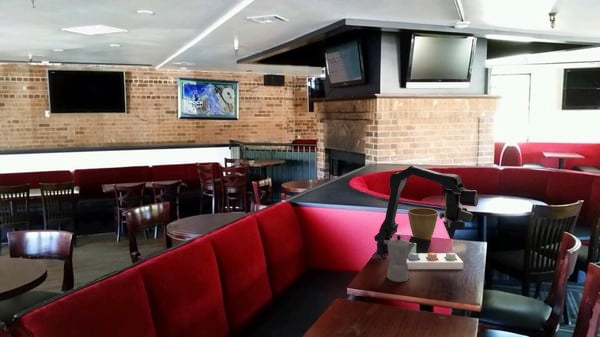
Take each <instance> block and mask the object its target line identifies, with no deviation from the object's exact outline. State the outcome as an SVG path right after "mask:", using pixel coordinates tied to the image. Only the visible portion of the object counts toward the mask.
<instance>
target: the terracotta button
mask: <svg viewBox="0 0 600 337" xmlns="http://www.w3.org/2000/svg"><path fill="white" fill-rule="evenodd" d="M428 260H437V254H436V252H428Z"/></svg>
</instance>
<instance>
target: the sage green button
mask: <svg viewBox="0 0 600 337" xmlns="http://www.w3.org/2000/svg"><path fill="white" fill-rule="evenodd" d="M456 255H457V253H456V254H454V252H447V253H446V260H455V259H456Z"/></svg>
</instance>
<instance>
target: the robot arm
mask: <svg viewBox="0 0 600 337" xmlns="http://www.w3.org/2000/svg"><path fill="white" fill-rule="evenodd" d="M413 176H415V177H419V178H421V179H426V180H429V181H430V182H431V181H432V182H435V183H438V184H439V185H440V186H442V188H443V189H442V190H441V191H440V194H445V199H444V200H445V202H444V205H443V208H444V211H441V212H439V219H440V220H443V219H444V220H443V221H442V223H443V226H444V228H445V230H446V232H447V233H446V234H447V235H448V237H449V239H450V240H453V239H454V236H455V234H456V230H457V229H466V223H465V221H463V220H466V221H468V222H471V221H472V218H473V216H474V214H472V212H470V211H468V209H467V208H466V207H467V206H468V207H473V208H477V207H478V204H479V200H480V198H479V195H478V190H475V189H473V190H471V189H467V188H466V187H465V185H464V184H463V181H462V178H461V176H460V175H458V174H453V173H441V172H437V171H434V170H430V169H427V168H424V167H421V166H418V165H416V164H414V165H410V166H409V167H407V168H405V169H404V170H402V171H398V172H396V173H395V172H394V173H392V174H391V175H390V176H389V181H388V182H389V189H390V193H389V197H388V203H387V207H386V208H387V209H386V212H385V218H384V220H383V221H382V224H380V227H379V230H378V233H377V234H375V235H374V237H373V239H374V241H375V242H376V244H377V243H378V242H379V241H380V240H389V241H390V240H392V238H393V237H394V236H395V235H396V233H398V227H399V224H398V223H396V215H397V211H398V207H399V203H400V197H401V193H402V190H403V189H404V187H405V186H406V184H407V180H408V179H410V178H411V177H413ZM460 204H461V205H462V206H466V207H462V208H461V206H460ZM462 219H463V220H462ZM381 247H382V252H383V255H389V253H388V246H387V245H383V244H382V245H381ZM375 252H376V254H377V253H378V254H379V251H378V248H377V247H376V249H375ZM378 254H377V255H378ZM379 255H380V254H379Z"/></svg>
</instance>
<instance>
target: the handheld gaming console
mask: <svg viewBox="0 0 600 337" xmlns="http://www.w3.org/2000/svg"><path fill="white" fill-rule="evenodd" d="M408 242H411V243H416V253H427V252H428V251H429V248H430V245H431V242H432V240H427V239H422V238H417V237H413V236H410V238H409V241H408ZM428 253H429V252H428Z"/></svg>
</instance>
